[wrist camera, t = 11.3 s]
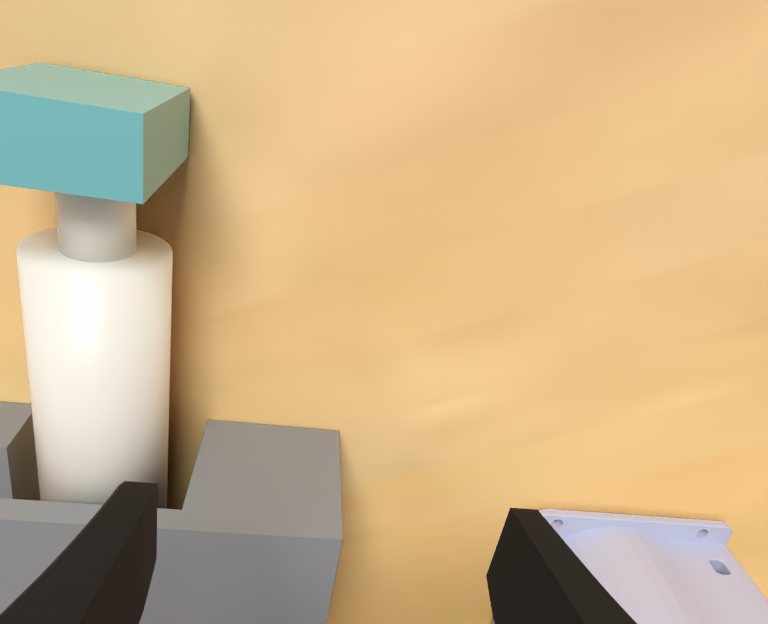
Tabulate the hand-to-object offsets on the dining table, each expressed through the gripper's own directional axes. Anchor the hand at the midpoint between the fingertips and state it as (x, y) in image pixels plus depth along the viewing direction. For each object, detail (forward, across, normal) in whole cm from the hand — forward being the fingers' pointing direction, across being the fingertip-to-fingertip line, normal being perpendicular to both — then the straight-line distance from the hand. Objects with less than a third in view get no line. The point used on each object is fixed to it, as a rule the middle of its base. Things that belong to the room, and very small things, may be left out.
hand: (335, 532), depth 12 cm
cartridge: (+10, +7, +1) cm, 12 cm away
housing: (+10, +6, +11) cm, 16 cm away
